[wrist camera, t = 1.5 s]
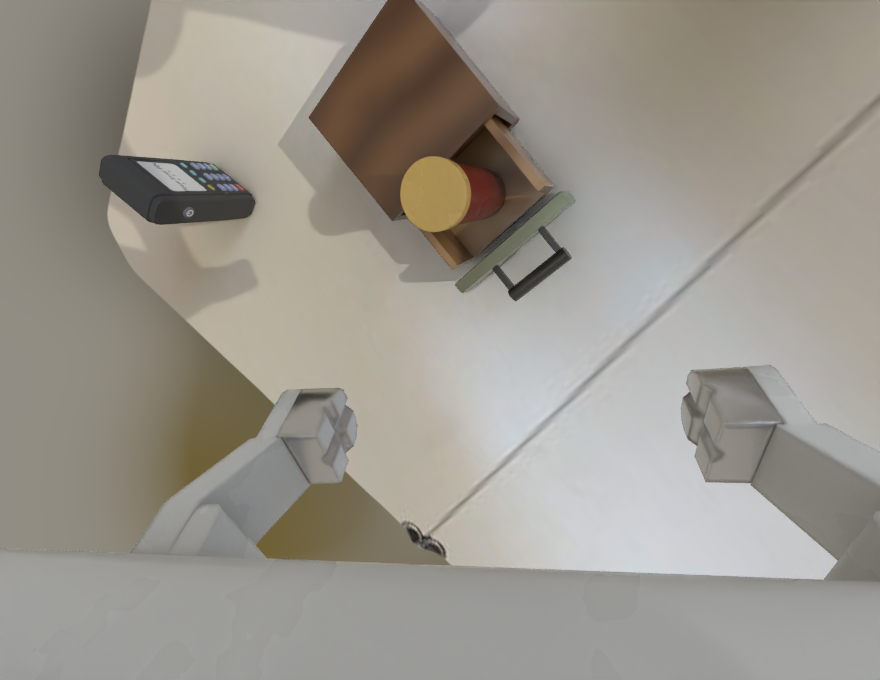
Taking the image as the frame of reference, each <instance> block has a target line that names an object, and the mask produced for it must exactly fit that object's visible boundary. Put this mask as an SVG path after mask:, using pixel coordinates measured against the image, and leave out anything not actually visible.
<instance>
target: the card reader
mask: <svg viewBox="0 0 880 680" xmlns="http://www.w3.org/2000/svg"><path fill="white" fill-rule="evenodd" d="M99 176H100V178H101V179H102V182H103V184H104V185H105V186H107V187H108V188H109V189H110V190H111V191H112V192H114V193H115V194H116V195H117V196H118V197H120V198H121V199H122V200H123V201H124V202H126V203H127V204H128V205H129V206H130V207H132V208H133V209H134V210H135V211H136V212H138V213H139V214H140V215H141V216H142V217H144V218H145V219H146V220H147V221H149V222H152V223H155V224H160V225H162V224H177V223H191V222H205V221H219V220H229V219H240V218H246V217H248V216H249V215H250V214H251V213H252V210H253V207H254V204H255V200H254V198H253V197H252V194H250V193H249V192H248V191H247V190H245V189H244V188H243V187H242V186H240V185H239V184H238V183H237V182H235V181H234V180H233V179H232V178H230V177H229V176H228V175H227V174H225V173H224V172H223V171H222V170H220V169H219V168H218V167H216V166H215V165H214V164H210V163H206V162H196V161H184V160H173V159H160V158H146V157H133V156H120V155H108V156H105V157H104V158H103V159H102V160H101V164H100V171H99Z"/></svg>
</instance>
